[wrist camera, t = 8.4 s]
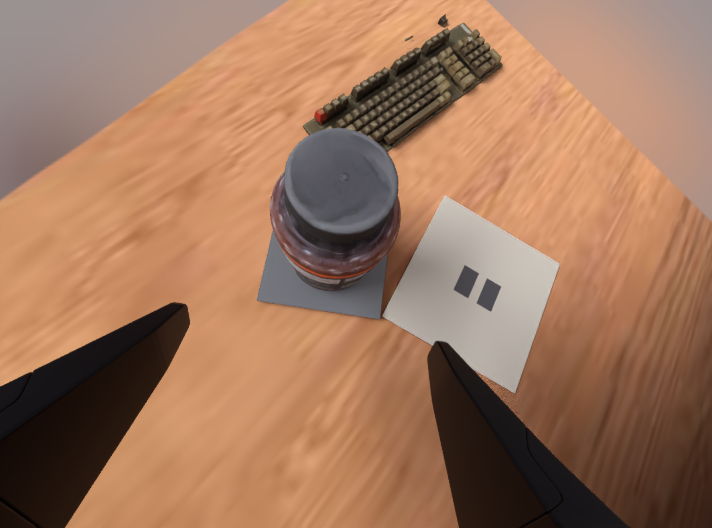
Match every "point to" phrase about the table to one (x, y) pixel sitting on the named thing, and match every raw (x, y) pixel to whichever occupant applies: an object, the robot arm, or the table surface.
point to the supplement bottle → (336, 207)
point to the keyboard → (412, 88)
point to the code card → (474, 292)
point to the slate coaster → (293, 291)
